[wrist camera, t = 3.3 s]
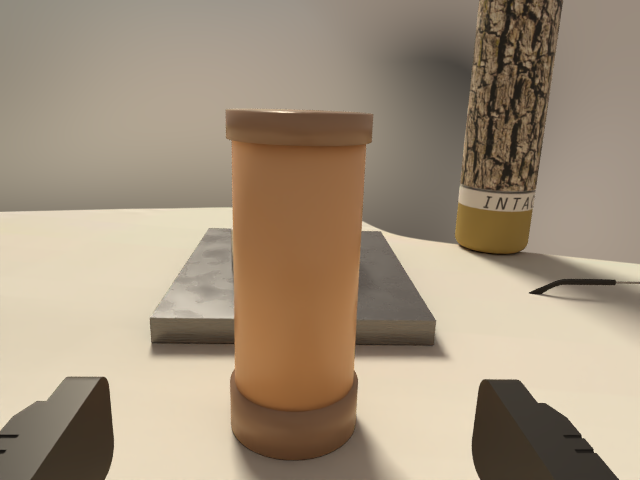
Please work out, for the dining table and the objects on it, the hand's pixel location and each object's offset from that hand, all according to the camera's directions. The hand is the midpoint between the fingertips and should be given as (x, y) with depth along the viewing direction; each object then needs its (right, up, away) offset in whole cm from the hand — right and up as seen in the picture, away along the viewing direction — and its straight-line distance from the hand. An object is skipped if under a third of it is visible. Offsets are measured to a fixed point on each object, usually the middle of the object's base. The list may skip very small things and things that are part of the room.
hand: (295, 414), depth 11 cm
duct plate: (-1, +1, +28) cm, 28 cm away
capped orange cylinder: (-1, -4, +11) cm, 12 cm away
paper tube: (+17, +3, +39) cm, 43 cm away
